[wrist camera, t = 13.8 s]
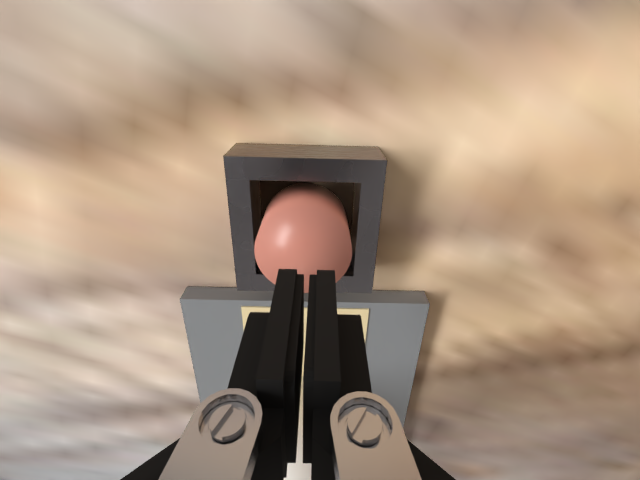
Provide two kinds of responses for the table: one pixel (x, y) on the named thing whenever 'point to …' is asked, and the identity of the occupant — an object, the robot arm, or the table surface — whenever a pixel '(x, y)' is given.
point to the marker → (299, 452)
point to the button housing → (315, 166)
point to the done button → (304, 233)
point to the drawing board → (378, 327)
